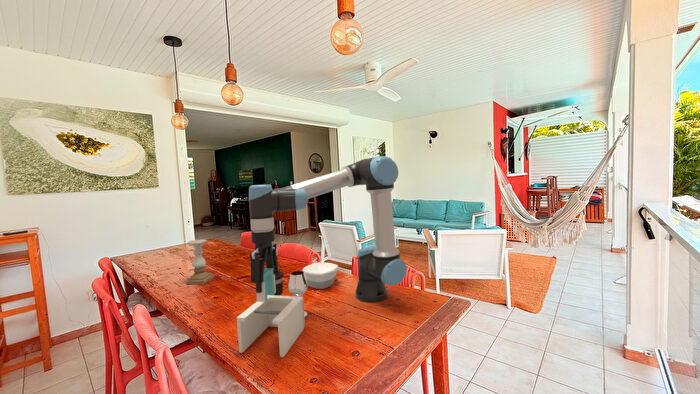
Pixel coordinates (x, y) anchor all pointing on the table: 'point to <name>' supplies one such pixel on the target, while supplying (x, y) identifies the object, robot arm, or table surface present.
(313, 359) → the table surface
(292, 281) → the wineglass
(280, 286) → the coffee cup
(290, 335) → the white c-frame
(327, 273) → the bowl
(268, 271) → the teal u-shaped bracket
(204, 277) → the candle holder
